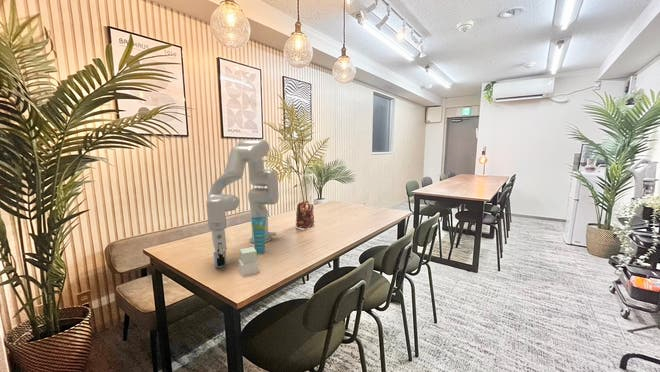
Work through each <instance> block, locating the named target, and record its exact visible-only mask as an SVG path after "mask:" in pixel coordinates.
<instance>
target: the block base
mask: <svg viewBox="0 0 660 372" xmlns="http://www.w3.org/2000/svg"><path fill="white" fill-rule="evenodd" d="M238 271H239V272H240V274H241V277H246V276H251V275H255V274H258V273H259V271H260V269H259V261H258V260H257V262H254V263H249V264H245V265H243V264H242V262H241V260H240V259H238Z"/></svg>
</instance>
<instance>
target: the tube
mask: <svg viewBox="0 0 660 372" xmlns="http://www.w3.org/2000/svg"><path fill="white" fill-rule="evenodd" d="M251 220H252V226H253V234H254V243H253V244H254V248H255V250H256V251H257V254H259V255H260V254H264V253H265V251H266V250H265V249H266V247H265V246H266V245H265V222H266V217H251V216H250V221H251ZM252 226H251V227H252Z"/></svg>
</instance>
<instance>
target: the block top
mask: <svg viewBox="0 0 660 372" xmlns="http://www.w3.org/2000/svg"><path fill="white" fill-rule="evenodd" d="M257 257H258V255H257V251H256V250H255V246H250V247H245V248H239V260H241V262H242V264H243V265H245V264H249V263H254V262H257V261H258V258H257Z"/></svg>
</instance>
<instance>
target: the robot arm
mask: <svg viewBox="0 0 660 372" xmlns="http://www.w3.org/2000/svg"><path fill="white" fill-rule="evenodd" d="M269 150H270V144H269V142H268V141H267V140H265V139H242V140H240V141H238V142H237V145H236V146H233V147H231V149H230V152H229V155H228V158H227V162H226V165H225V166H226V167H225V170H224V173H222V174H221V175H220V176H219V177H218V178H217V179H216V180H215V181H214V182H213V184H212V185H211V187H210V189H209V193H208V197H207V200H206V205H205V206H206V216H207V227H208V229H207V230H208V231H211V239H212V244H213V249H214V252H217V266H223V265H225V257H224V251H227V250H228V247H227V239H226V230H225V229H227V219H226V213H227V212H232V211H235V210H236V209H238V207H239V205H240V199H239V197H238V196H237V195H235V194H223V193H222V192H223V190H224V189H226V187H227V186H229V185H230V184H233V183H235V182H238V181H239V180H241V179H242V178H243V176H244V173H245V171H244V170H245V168H246V164H247V166H248V176H249V177H248V178H249V183H250V184H251V186H256V187H254V188H253V187H252V188H251V189H250V190H248V194H247V197H248V201H249V202H248V203H249V207H250V218H251V217H266V222H265V243H268V242H270V241H271V240H272V237H274V236H277V232H276V231H275V232H274V231H271V232H270V231H269V217H268V209H267V207H266V205H269V206H271V205H272V206H273V205H276V204H278V202H279V197H280V195H279V194H280V193H279V182H278V181H279V180H278V178H279V177H278V174H277V173H276V171H275V170H273V169H265V166H264V159H263V158H264V157H266V156H267V155H268V153H269V152H270V151H269ZM250 221H251V224H250V225H251V237H250V238H249V242H250V243H251V244H254V234H253V226H252V220H251V219H250ZM223 250H224V251H223ZM218 252H219V254H218ZM225 266H226V265H225ZM223 267H224V266H223Z"/></svg>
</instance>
